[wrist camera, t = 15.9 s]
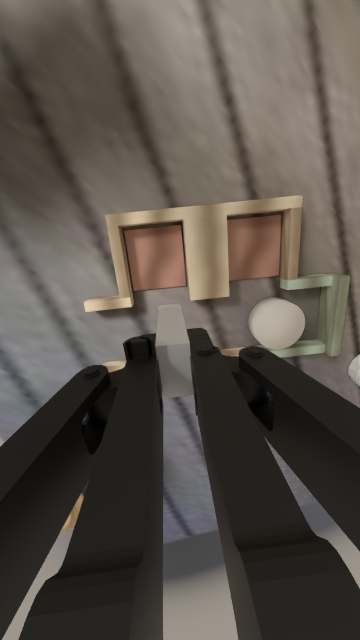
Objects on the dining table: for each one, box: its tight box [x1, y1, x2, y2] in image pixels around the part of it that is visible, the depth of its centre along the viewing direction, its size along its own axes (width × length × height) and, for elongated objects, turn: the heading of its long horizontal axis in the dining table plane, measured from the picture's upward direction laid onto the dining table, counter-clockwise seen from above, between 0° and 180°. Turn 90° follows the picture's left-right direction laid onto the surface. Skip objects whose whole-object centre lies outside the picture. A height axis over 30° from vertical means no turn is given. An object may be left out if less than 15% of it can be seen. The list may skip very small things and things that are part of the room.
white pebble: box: [248, 297, 305, 350], centre depth 37 cm, size 8×8×4 cm
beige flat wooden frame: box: [84, 195, 350, 372], centre depth 35 cm, size 40×24×4 cm, turn 96°
